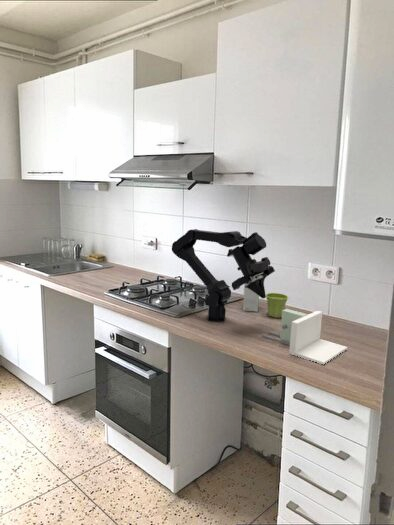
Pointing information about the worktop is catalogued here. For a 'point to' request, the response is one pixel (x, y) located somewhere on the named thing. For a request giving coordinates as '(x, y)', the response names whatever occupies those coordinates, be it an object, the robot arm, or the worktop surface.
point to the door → (288, 323)
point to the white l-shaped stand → (309, 340)
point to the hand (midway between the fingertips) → (264, 298)
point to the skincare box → (250, 300)
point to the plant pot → (276, 304)
